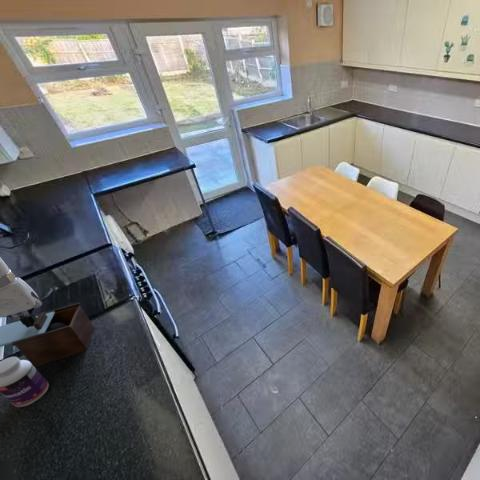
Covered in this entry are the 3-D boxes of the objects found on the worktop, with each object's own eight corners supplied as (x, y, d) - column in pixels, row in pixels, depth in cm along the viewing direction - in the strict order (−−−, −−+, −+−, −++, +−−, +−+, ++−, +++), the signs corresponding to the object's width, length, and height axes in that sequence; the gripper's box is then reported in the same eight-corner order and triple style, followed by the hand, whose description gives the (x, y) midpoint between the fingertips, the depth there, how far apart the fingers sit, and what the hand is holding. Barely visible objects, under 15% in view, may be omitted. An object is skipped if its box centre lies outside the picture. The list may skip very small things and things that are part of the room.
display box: (34, 368, 90) (11, 343, 84) (47, 341, 100) (28, 316, 94) (87, 351, 96) (69, 326, 89) (94, 326, 106) (79, 302, 99)
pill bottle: (9, 413, 78) (-25, 383, 71) (22, 388, 84) (-7, 359, 77) (44, 401, 81) (15, 371, 73) (54, 378, 87) (29, 348, 80)
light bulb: (76, 346, 97) (61, 326, 92) (56, 354, 94) (40, 334, 89) (77, 335, 101) (63, 316, 96) (58, 343, 99) (43, 323, 94)
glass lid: (-16, 351, 83) (-23, 345, 81) (1, 327, 91) (-5, 321, 90) (44, 333, 88) (39, 327, 86) (55, 312, 96) (50, 306, 95)
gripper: (-46, 296, 75) (-3, 341, 84) (23, 280, 81) (56, 323, 90) (-31, 281, 81) (8, 324, 90) (33, 267, 86) (63, 309, 96)
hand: (32, 323), depth 90 cm, fingers closed
